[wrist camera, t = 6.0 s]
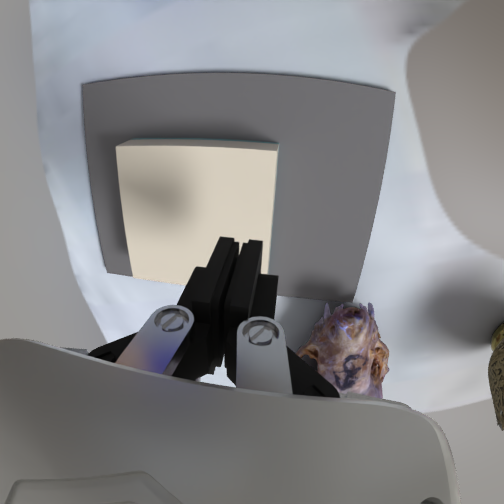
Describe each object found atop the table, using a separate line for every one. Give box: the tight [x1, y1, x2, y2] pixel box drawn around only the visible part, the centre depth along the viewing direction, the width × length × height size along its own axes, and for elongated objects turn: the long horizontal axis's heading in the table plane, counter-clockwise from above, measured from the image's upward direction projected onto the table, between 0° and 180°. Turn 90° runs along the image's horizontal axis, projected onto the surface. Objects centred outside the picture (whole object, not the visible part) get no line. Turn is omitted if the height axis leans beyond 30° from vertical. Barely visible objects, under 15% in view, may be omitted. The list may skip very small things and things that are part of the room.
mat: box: [83, 73, 396, 303], centre depth 17 cm, size 13×17×1 cm
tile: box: [116, 138, 279, 285], centre depth 17 cm, size 8×2×8 cm
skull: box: [296, 303, 389, 399], centre depth 20 cm, size 12×8×6 cm, turn 177°
